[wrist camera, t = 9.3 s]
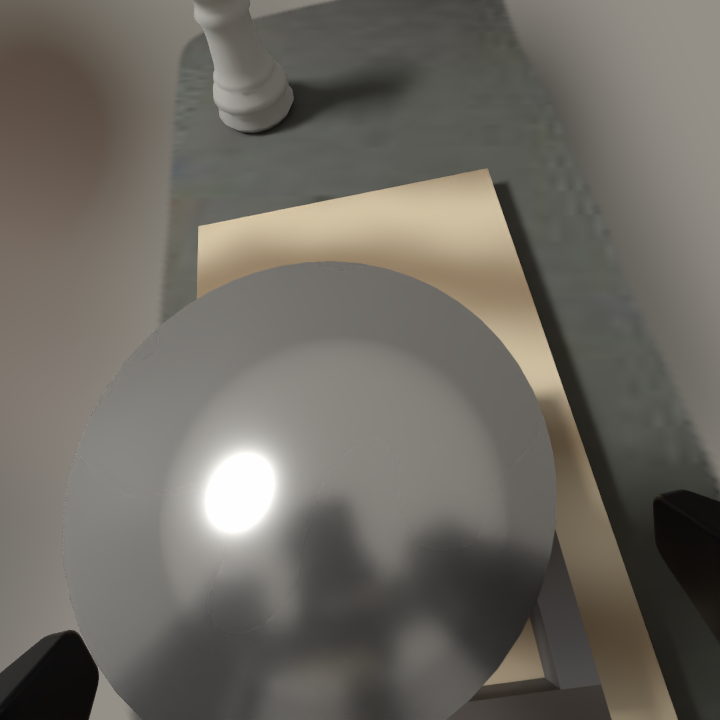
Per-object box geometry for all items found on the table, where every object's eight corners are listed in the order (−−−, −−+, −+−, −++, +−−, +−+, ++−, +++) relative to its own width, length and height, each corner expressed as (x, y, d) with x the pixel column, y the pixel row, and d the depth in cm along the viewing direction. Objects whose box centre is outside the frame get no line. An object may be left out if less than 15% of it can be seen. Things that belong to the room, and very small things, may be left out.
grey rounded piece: (510, 652, 14) (838, 879, 3) (312, 680, 15) (-115, 984, 3) (464, 455, 17) (535, 160, 6) (297, 482, 17) (36, 258, 6)
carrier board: (706, 842, 13) (777, 907, 10) (197, 897, 14) (140, 970, 11) (485, 184, 24) (491, 132, 21) (207, 239, 24) (179, 196, 22)
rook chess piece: (311, 105, 28) (269, -64, 21) (251, 149, 27) (185, -11, 20) (265, 75, 30) (211, -90, 23) (207, 115, 29) (132, -43, 22)
